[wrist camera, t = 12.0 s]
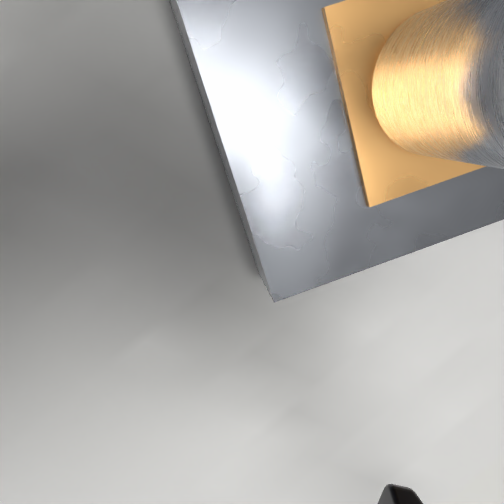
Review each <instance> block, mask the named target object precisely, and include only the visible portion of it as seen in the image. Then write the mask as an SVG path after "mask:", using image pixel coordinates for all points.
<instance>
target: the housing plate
mask: <svg viewBox="0 0 504 504" xmlns="http://www.w3.org/2000/svg"><path fill="white" fill-rule="evenodd" d="M444 1H446V0H170V3H171V6H172V9H173V12H174V15H175V19H176V22H177V25H178V28H179V31H180V34H181V37H182V40H183V43H184V46H185V49H186V52H187V55H188V58H189V61H190V64H191V67H192V70H193V73H194V76H195V79H196V83H197V86H198V89H199V92H200V95H201V98H202V101H203V104H204V107H205V110H206V113H207V116H208V119H209V122H210V125H211V128H212V131H213V134H214V137H215V140H216V143H217V147H218V150H219V153H220V156H221V159H222V162H223V165H224V168H225V171H226V174H227V177H228V180H229V183H230V186H231V189H232V192H233V195H234V198H235V201H236V204H237V208H238V211H239V214H240V217H241V220H242V223H243V226H244V229H245V232H246V235H247V238H248V241H249V244H250V247H251V250H252V253H253V256H254V259H255V262H256V265H257V268H258V272H259V275H260V277H261V279H262V281H263V283H264V285H265V286H266V288H267V290H268V292H269V294H270V296H271V297H272V299H273V301H274V302H277V301H279V300H282V299H285V298H288V297H290V296H293V295H296V294H299V293H301V292H304V291H307V290H310V289H312V288H315V287H318V286H321V285H323V284H326V283H329V282H332V281H335V280H337V279H340V278H343V277H346V276H348V275H351V274H354V273H357V272H359V271H362V270H365V269H368V268H370V267H373V266H376V265H379V264H381V263H384V262H387V261H390V260H393V259H395V258H398V257H401V256H404V255H406V254H409V253H412V252H415V251H417V250H420V249H423V248H426V247H428V246H431V245H434V244H437V243H439V242H442V241H445V240H448V239H450V238H453V237H456V236H459V235H462V234H464V233H467V232H470V231H473V230H475V229H478V228H481V227H484V226H486V225H489V224H492V223H495V222H497V221H500V220H503V219H504V169H500V168H495V167H489V166H483V165H477V164H471V163H465V162H459V161H453V160H447V159H441V158H435V157H429V156H423V155H417V154H414V153H411V152H408V151H406V150H404V149H402V148H401V147H399V146H398V145H396V144H395V143H394V142H393V141H392V140H391V139H390V138H389V137H388V136H387V134H386V133H385V132H384V130H383V129H382V127H381V125H380V123H379V121H378V119H377V116H376V113H375V110H374V105H373V99H372V81H373V74H374V69H375V65H376V62H377V59H378V56H379V54H380V52H381V50H382V48H383V46H384V44H385V43H386V41H387V39H388V38H389V37H390V35H391V34H392V33H393V32H394V30H395V29H396V28H397V27H398V26H399V25H400V24H401V23H403V22H404V21H405V20H406V19H408V18H409V17H411V16H412V15H414V14H416V13H417V12H420V11H422V10H424V9H427V8H429V7H432V6H434V5H436V4H439V3H441V2H444Z"/></svg>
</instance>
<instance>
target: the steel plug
mask: <svg viewBox="0 0 504 504" xmlns="http://www.w3.org/2000/svg"><path fill="white" fill-rule="evenodd" d="M372 99H373V105H374V110H375V113H376V116H377V119H378V121H379V123H380V125H381V127H382V129H383V130H384V132H385V133H386V134H387V136H388V137H389V138H390V139H391V140H392V141H393V142H394V143H395V144H396V145H398V146H399V147H401V148H402V149H404V150H406V151H408V152H411V153H414V154H417V155H423V156H429V157H435V158H441V159H447V160H453V161H459V162H465V163H471V164H477V165H483V166H489V167H495V168H500V169H504V0H446V1H444V2H441V3H439V4H436V5H434V6H432V7H429V8H427V9H424V10H422V11H420V12H417V13H416V14H414V15H412V16H411V17H409V18H408V19H406V20H405V21H404V22H403V23H401V24H400V25H399V26H398V27H397V28H396V29H395V30H394V32H393V33H392V34H391V35H390V37H389V38H388V39H387V41H386V43H385V44H384V46H383V48H382V50H381V52H380V54H379V56H378V59H377V62H376V65H375V69H374V74H373V81H372Z"/></svg>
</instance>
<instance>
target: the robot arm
mask: <svg viewBox="0 0 504 504" xmlns="http://www.w3.org/2000/svg"><path fill="white" fill-rule="evenodd" d="M378 504H423V503H422V501H421V500H420V499H419V497H418V496H417V494H416V493H415V492H414V491H413V490H412V489H410V488H408V487H403V486H399V485H394V484H388V485H387V486H385V488H384V490H383V492H382V495H381V497H380V499H379V502H378Z"/></svg>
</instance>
